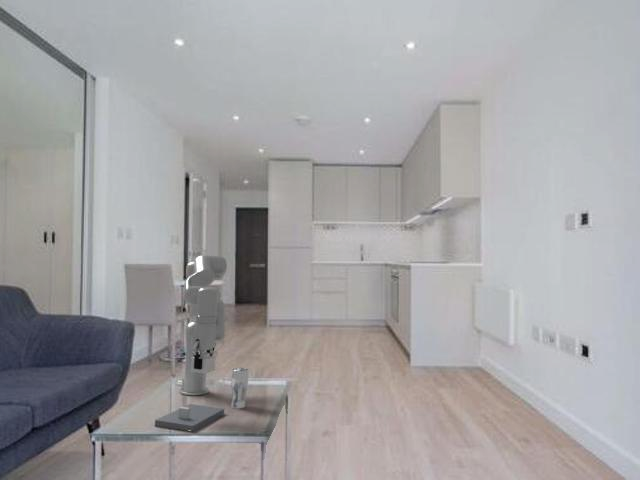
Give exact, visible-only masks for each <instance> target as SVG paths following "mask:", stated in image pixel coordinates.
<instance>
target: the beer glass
mask: <svg viewBox="0 0 640 480" xmlns="http://www.w3.org/2000/svg"><path fill="white" fill-rule="evenodd" d="M231 371H232V372H231V379H230V386H231V393H232V394H231V397H232V399H231V403H230V407H231V408H232V409H235V410H242V409H245V408H246V407H247V405H246V404H247V403H246V396H247V391H248V386H249V375H250V373H249V368H246V367H234V368H232V370H231ZM244 407H245V408H244ZM241 408H242V409H241Z"/></svg>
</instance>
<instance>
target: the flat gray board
mask: <svg viewBox="0 0 640 480" xmlns="http://www.w3.org/2000/svg"><path fill="white" fill-rule="evenodd" d="M223 415H225V408H222V407H215V406H208V405H200V404H194V403H193V404H192V403H190V404H187V405H186V406H179V407H178V409H177V410H173V411H172V412H169V413H168V414H166V415H163V416H161V417H158V418H156V419H155V420H154V427H159V428H166V429H172V430H177V429H181V430H180V431H183V430H191V431H193V432H195V431H196V430H199V429H200V428H202V427H204V426H206V425H208V424H209V423H211V422H212V421H215V420H216V419H218V418H220V417H222V416H223ZM194 430H195V431H194Z"/></svg>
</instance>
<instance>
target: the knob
mask: <svg viewBox="0 0 640 480" xmlns="http://www.w3.org/2000/svg"><path fill="white" fill-rule="evenodd" d="M199 355H200V353H199ZM201 359H203V360H202V369H201V370H200V369H194V357H192V358H191V371H190V372H197V373H205V374H206V375H207V374H208V373H212V372H214V371H215V370H216V356H210V353H207V352H203V354H202V358H201Z"/></svg>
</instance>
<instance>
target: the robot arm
mask: <svg viewBox="0 0 640 480" xmlns="http://www.w3.org/2000/svg"><path fill="white" fill-rule="evenodd" d="M227 270H228V263H227V260H226V258H225V257H223V256H220V255H205V254H204V255H203V254H202V255H199V256H198V257H196V258H195V259H194V261H191V262H188V263H187V265H186V267H185V276H186V280H185V281H184V284H183V285H184V286H183V300H184V303H185V304H186V305H189V316H190V318H191V319H193V320H195V321H191V322H189V323H188V324H187V325H186V326H185V340H186V343H185V344H186V347H185V348H186V349H185V351H186V352H185V366H184V367H185V368H184V378H183V380H177V381H178V382H177V384H176V386H178V387H180V390H179V393H180V394H181V395H185V396H200V395H201V396H202V395H206V394H208V393H209V392H210V389H209V387H206V386H207V385H206V384H207V373H206V374H205V373H197V372H190V371H191V358H192V357H194V369H200V370H201V369H202V360H203V359H201V358H202V354H203V352H207V353H210V356H213V355H214V351H215V348H216V346H217V343H222V342H223V341H224V339H225V336H226V330H225V329H226V311H225V310H226V309H225V303H224V302H223V301H222V300H221V292H220V290H219V289H218V287H215V286H210V285H212V284H213V283H214V281H218V280H222V279H223V278H224V276H225V275H226V273H227ZM199 353H200V355H199Z"/></svg>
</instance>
